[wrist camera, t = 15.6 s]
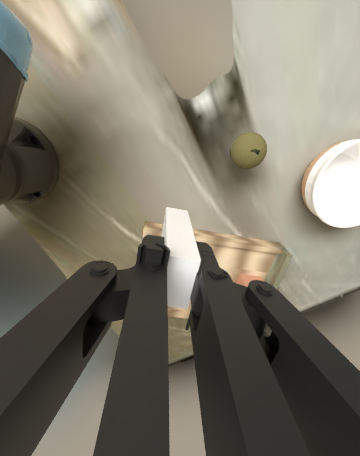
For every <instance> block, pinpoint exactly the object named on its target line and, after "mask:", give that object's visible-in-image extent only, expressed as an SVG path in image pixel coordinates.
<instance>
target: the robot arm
mask: <svg viewBox="0 0 360 456" xmlns="http://www.w3.org/2000/svg"><path fill="white" fill-rule="evenodd" d="M31 53H32V40H31V37H30V35H29V33H28V31H27V29H26V28H25V26H24V25H23V24H22V22H21V21H20V20H19V19H18V18H17V16H16V15H15V14H14V13H13V12H12V11H11V10H10V9H9V8H8V7H7V6H6V5H5V4H4V3H3V2H1V1H0V205H1V204H3V203H13V204H22V203H29V202H33V201H36V200H38V199H40V198H42V197H44V196H46V195H47V194H48V193H49V192H50V191H51V190H52V189H53V188H54V186H55V184H56V182H57V179H58V175H59V165H58V159H57V156H56V153H55V151H54V149H53V147H52V145H51V144H50V142H49V141H48V139H47V138H46V137H45V136H44V135H43V134H42V133H41V132H40V131H39V130H38V129H37V128H36V127H34V126H33V125H31V124H30V123H28V122H26V121H24V120H22V119H19V118H16V117H15V114H16V110H17V107H18V104H19V100H20V97H21V93H22V90H23V87H24V83H25V81H27V80H28V75H27V70H28V66H29V61H30V57H31ZM190 301H191V310H190V314H189V318H188V321H187V325H186V330H188V328H189V325H190V328H191V336H192V344H193V353H194V361H195V368H196V376H197V385H198V393H199V401H200V408H201V418H202V425H203V433H204V442H205V450H206V456H360V371H359V370H358V369H357V368H356V367H355V366H354V365H353V364H352V363H350V361H349V360H348V359H347V358H346V357H345V356H344V355H343V354H342V353H341V352H340V351H339V350H337V348H336V347H335V346H334V345H333V344H331V342H329V340H328V339H327V338H325V336H323V335H322V334H321V333H320V332H319V331H318V330H317V329H316V328H315V327H314V326H313V325H312V324H311V323H310V322H309V321H308V320H307V319H306V318H305V317H304V316H303V315H302V314H301V313H300V312H299V311H298V310H297V309H296V308H295V307H294V306H293V305H292V304H291V303H290V302H289V301H288V300H287V299H286V298H285V297H284V296H283V295H282V294H281V293H280V292H279V291H278V290H277V289H276V288H275V287H273V286H272V285H270V284H268V283H267V282H265V281H261V280H252V281H250V282H249V284H248V287H246V286H243V285H240V284H237V283H235V282H233V281H232V279H231V276H230V275H229V274H228V272H226V271H225V270H224V269H222V268H220V267H219V264H218V262H217V259H216V257H215V255H214V252H213V250H212V247H211V246H210V245H209V244H207V243H205V242H198V241H196V240H195V237H194V233H193V229H192V226H191V222H190V219H189V215H188V211H186V210H180V209H174V208H168V207H166V212H165V218H164V223H163V229H162V234H161V236H154V235H146V236H145V237H143V240H142V244H140V245H139V247H138V254H137V261H136V265H135V266H133V267H132V268H129V269H125V270H117V268H116V266H115V265H114V264H112V263H110V262H107V261H93V262H89V263H87V264H85V265H84V266H82V267H81V268H80V269H79V270H78V271H77V272H76V273H74V274H73V275H72V276H71V277H70V278H69V279H68V280H66V281H65V282H64V283H63V284H62V285H61V286H60V287H58V288H57V289H56V290H55V291H54V292H53V293H52V294H50V295H49V296H48V297H47V298H46V299H45V300H44V301H42V302H41V303H40V304H39V305H38V306H37V307H36V308H34V309H33V310H32V311H31V312H30V313H29V314H28V315H27V316H25V317H24V318H23V319H22V320H21V321H20V322H18V323H17V324H16V325H15V326H14V327H13V328H12V329H11V330H9V331H8V332H7V333H6V334H5V335H4V336H2V337H1V338H0V456H31V455H32V453H33V452H34V450H35V448H36V447H37V445H38V443H39V441H40V440H41V438H42V437H43V435H44V434H45V432H46V430H47V429H48V427H49V425H50V424H51V422H52V420H53V419H54V417H55V416H56V414H57V412H58V411H59V409H60V407H61V406H62V404H63V403H64V401H65V399H66V398H67V396H68V394H69V393H70V391H71V389H72V388H73V386H74V384H75V383H76V381H77V380H78V378H79V376H80V374H81V373H82V371H83V370H84V368H85V366H86V365H87V363H88V362H89V360H90V358H91V357H92V355H93V353H94V352H95V350H96V349H97V347H98V345H99V343H100V342H101V340H102V339H103V337H104V335H105V334H106V332H107V331H108V329H109V327H110V326H111V323H112V321H117V320H122V319H124V320H123V325H122V329H121V334H120V338H119V343H118V347H117V351H116V356H115V360H114V365H113V369H112V374H111V378H110V383H109V387H108V391H107V396H106V400H105V405H104V410H103V414H102V418H101V423H100V427H99V432H98V436H97V440H96V445H95V450H94V455H93V456H169V384H168V383H169V380H168V307H176V308H185V309H188V307H189V303H190ZM267 325H268V326H269V327H270V328H271V330H272V333H271V335H270V336H268V335H267V334H266V333H265V329H266V327H267Z"/></svg>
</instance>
